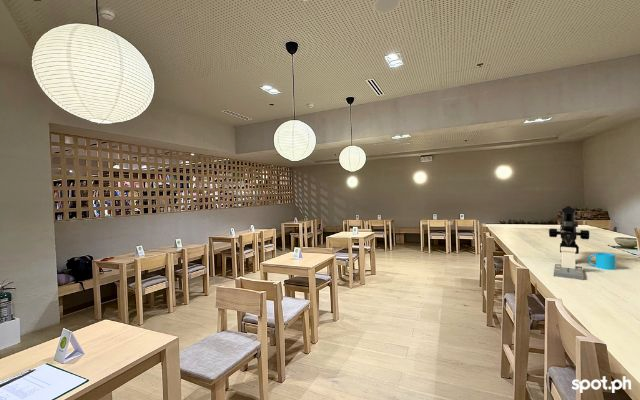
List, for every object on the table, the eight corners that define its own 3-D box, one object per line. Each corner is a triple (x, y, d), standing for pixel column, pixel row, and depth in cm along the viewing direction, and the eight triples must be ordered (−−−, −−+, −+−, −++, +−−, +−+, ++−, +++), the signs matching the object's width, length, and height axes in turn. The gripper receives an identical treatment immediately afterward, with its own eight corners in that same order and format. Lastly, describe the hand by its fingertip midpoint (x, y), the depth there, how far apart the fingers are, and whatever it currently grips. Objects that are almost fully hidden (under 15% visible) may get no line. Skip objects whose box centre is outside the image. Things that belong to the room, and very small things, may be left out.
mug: (615, 267, 171) (615, 254, 171) (615, 270, 165) (615, 256, 165) (587, 264, 180) (587, 251, 179) (586, 267, 174) (586, 253, 174)
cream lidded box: (560, 265, 171) (560, 246, 170) (575, 267, 167) (575, 247, 166) (560, 267, 168) (560, 247, 167) (576, 269, 164) (576, 249, 163)
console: (555, 267, 176) (555, 263, 176) (582, 270, 168) (582, 266, 168) (553, 275, 159) (553, 272, 159) (583, 279, 151) (583, 275, 151)
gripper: (549, 215, 184) (548, 235, 176) (589, 216, 171) (590, 238, 163) (549, 226, 190) (548, 246, 182) (588, 228, 178) (589, 249, 170)
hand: (568, 244), depth 174 cm, fingers closed
